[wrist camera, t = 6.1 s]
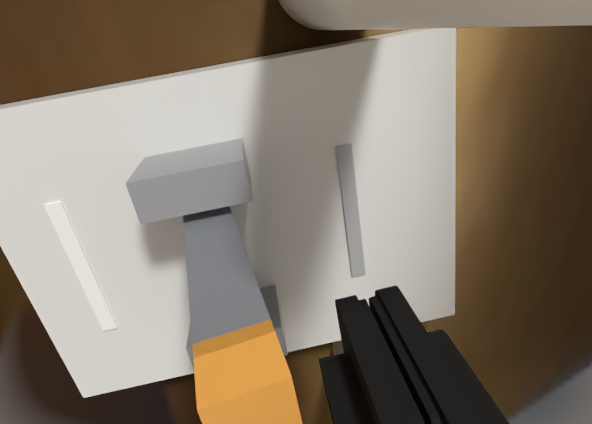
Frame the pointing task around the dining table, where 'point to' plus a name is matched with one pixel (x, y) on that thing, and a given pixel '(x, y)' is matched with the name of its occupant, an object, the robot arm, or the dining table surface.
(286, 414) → the paddle
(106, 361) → the panel
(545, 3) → the post
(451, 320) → the dining table surface
